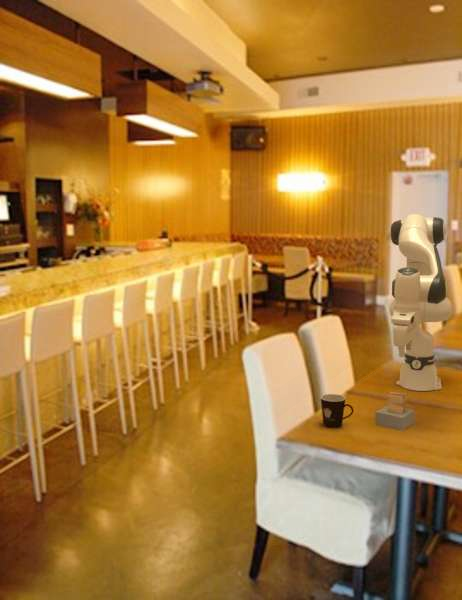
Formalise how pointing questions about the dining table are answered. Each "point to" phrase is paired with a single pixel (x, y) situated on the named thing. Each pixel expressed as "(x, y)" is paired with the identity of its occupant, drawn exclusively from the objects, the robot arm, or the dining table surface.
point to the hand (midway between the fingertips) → (405, 353)
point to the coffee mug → (333, 410)
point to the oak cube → (396, 402)
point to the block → (395, 418)
